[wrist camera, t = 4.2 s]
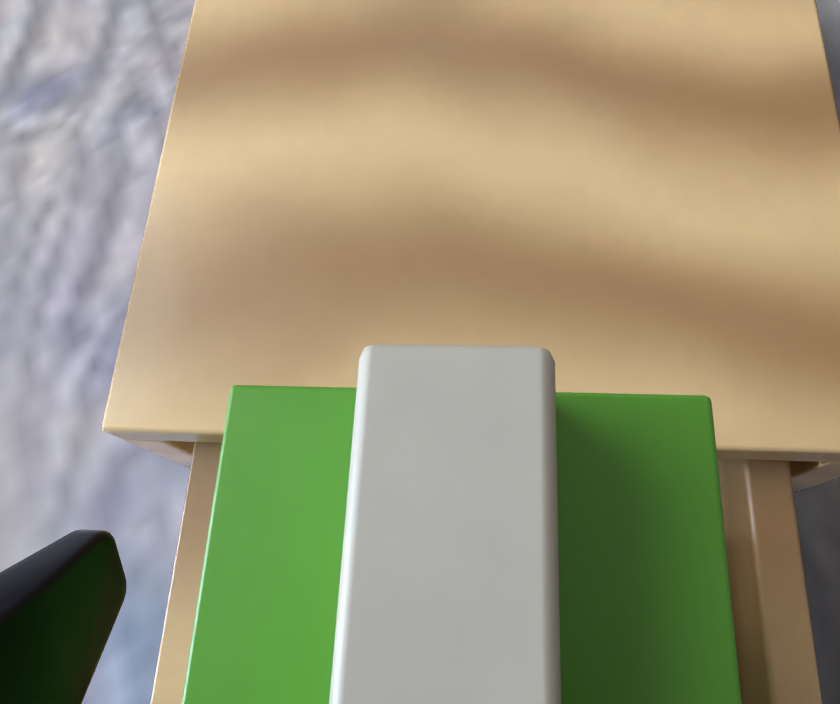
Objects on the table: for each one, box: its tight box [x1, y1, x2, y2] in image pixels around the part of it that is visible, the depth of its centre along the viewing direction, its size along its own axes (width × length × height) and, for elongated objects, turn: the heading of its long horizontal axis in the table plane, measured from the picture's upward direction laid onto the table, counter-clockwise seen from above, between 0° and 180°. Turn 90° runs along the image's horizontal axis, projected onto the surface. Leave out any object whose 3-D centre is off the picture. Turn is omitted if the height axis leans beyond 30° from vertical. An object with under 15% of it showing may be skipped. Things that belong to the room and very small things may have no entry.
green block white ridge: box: [182, 344, 742, 704], centre depth 8 cm, size 5×4×10 cm
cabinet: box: [102, 0, 840, 493], centre depth 16 cm, size 16×14×5 cm
